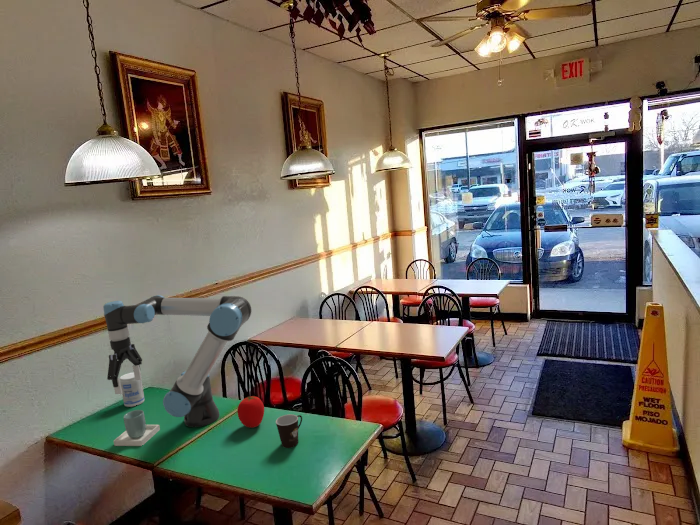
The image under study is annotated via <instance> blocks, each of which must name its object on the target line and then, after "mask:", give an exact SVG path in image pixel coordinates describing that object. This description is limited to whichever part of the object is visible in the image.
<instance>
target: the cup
mask: <svg viewBox="0 0 700 525" xmlns="http://www.w3.org/2000/svg"><path fill="white" fill-rule="evenodd" d="M146 422H147V421H146V418H145V413H144V410H142V409H135V410H131V411H128V412H127V413H125V414H124V415H123V423H124V427H125V428H124V429H125V431H126V432H127V434H128V436H129V437H130V438H139V437H141V436H142V435H144V433H145V431H146V425H147V424H146Z"/></svg>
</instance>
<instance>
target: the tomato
mask: <svg viewBox="0 0 700 525" xmlns="http://www.w3.org/2000/svg"><path fill="white" fill-rule="evenodd" d="M236 411H237V413H236V414H237V416H238V417H237V418H238V420H239V421H240V423H241V424H242V425H243V426H244V427H246V428H250V429H251V428H256V427H258V426H259V425H261V423H262V421H263V419H264V415H265V406H264V402H263V401H262V400H261V398H259V397H258V396H255V395H252V396H247V397H245V398H243V399H242V400H241V401H240V402H239V404H238V406H237V410H236Z"/></svg>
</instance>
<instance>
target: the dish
mask: <svg viewBox="0 0 700 525" xmlns="http://www.w3.org/2000/svg"><path fill="white" fill-rule="evenodd" d="M160 427H161V426H160V424H146V431H145V433H144V435H142V436H141V437H139V438H130V437H129V436H128V434H127V432H126V430H124V432H122V433H121V434H120V435H119V436H117V437H116V438H115V439H113V445H114V447H116V446H117V447H125V446H126V447H143V446H144V445H145V444H146V443H147V442H148V441H149V440H151V439H152V438H153V437H154V436H155V435H156V434H157V433H158V432H160V430H161V428H160ZM142 445H143V446H142Z"/></svg>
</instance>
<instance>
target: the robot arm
mask: <svg viewBox="0 0 700 525" xmlns="http://www.w3.org/2000/svg"><path fill="white" fill-rule="evenodd" d="M102 309H103V316H104V318H105V319H104V320H105V324H106V327H107V328H106V329H107V334H108V338H109V340H110V341H109V345H110V350H112V351H113V354H109V355H108V368H107V369H108V370H107V381H111V382H112V386H113V388H114V389H113V390H114V394H115V395H122V388H121V383H120V377H119V375H120V370H121V367H122V365H123V363H124V361H126V360H128V361H129V362H131V364H133V365H132V370H133V372H134V376H135V380H141V381H142V378H143V377H142V373H141V365H142V364H143V358H142V357H141V355H140V354H139V352H138V351H137V349H136V346H135V344H134V343H131V337H130V331H129V327H128V326H129V325H130V324H131V325H132V324H133V325H134V324H145V323H146V324H147V323H151V322H152V321H153V320H154V319H155V316H157V315H159V316H191V317H192V316H197V317H198V316H200V317H202V316H203V317H209V320H208V323H207V326H206V329H207V333H206V335H205V336H204V339H203V341H202V342H201V344H200V345H199V347H198V349H197V351H196V353H195V354H194V356H193V358H192V360H191V362H190V363H189V365H188V366H187V369H186V370H185V371H183V372H181V374H180V376H178V377H177V378H176V380H175V382H174V384H173V386H172V387H171V388H170V390H169V391H168V392H166V393H165V395H164V397H163V400H162V405H163V408H164V410H165V411H166V412H167V414H168V415H170V416H172V417H175V418H181V417H184V418H183V421H184V425H185V426H186V427H189V428H200V427H205V426H207V425H210V424H212V423H214V422H215V421H217V420H218V419H219V418H220V411H219V410H220V409H219V407H218V406H217V404H216V403H215V401H214V398H213V391H212V386H211V385H212V384H211V378H210V373H211V371H212V369H213V368H214V366H215V364H216V363H217V360H218V359H219V357H220V355H221V353H222V352H223V351H224V349H225V347H226V345H227V343H228V342H232V341H233V340H234V339H235V337H236V336H237V335H238V332H239V330H240V329H241V327H242V326H243V325H244V324H246V322H247V321H249V319H250V317H251V315H252V307H251V303H250V302H249V301H248V299H246V298H244V297H243V296H239V295H237V296H235V295H231V296H229V295H223V296H221V297H220V298H215V297H213V298H212V297H211V298H210V297H209V298H208V297H206V298H205V297H203V298H202V297H165V296H163V295H161V294H156V295H153V296H151V297H149V298H147V299H145V300H142V301H141V302H139V303H136V304H132V305H131V304H130V305H124V303H123V301H122V300H113V301H110V302H107V303H105V304H103V308H102Z"/></svg>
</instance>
